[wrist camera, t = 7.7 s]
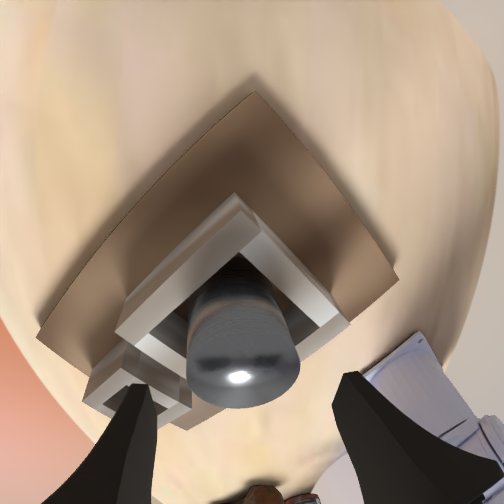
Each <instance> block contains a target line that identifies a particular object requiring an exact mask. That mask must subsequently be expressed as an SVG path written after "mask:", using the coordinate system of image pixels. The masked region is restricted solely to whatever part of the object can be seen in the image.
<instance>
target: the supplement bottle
mask: <svg viewBox="0 0 504 504" xmlns="http://www.w3.org/2000/svg"><path fill="white" fill-rule="evenodd" d="M284 504H321V502H320V499H319V497H318V495H316V494H303V495H299V496H296V497H293V498H290V499H288V500H287V501H285V503H284Z"/></svg>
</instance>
